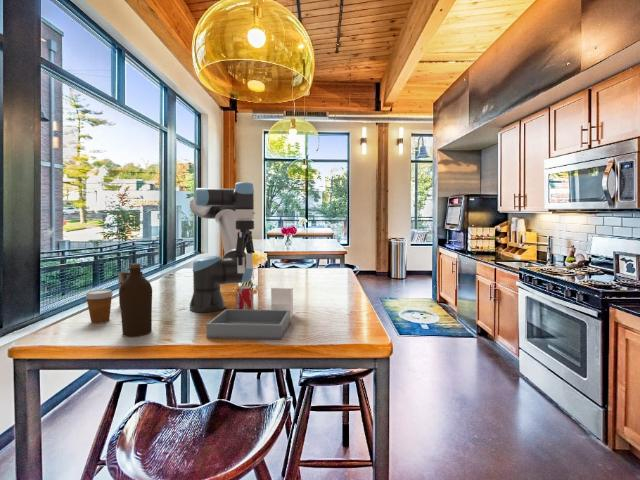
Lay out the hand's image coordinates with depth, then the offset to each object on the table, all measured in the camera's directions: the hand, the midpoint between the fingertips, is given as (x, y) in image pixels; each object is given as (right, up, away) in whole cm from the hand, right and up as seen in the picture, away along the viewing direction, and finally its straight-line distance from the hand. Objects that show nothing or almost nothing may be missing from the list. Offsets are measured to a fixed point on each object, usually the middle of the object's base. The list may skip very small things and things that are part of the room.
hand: (245, 270), depth 156 cm
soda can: (-1, -19, +1) cm, 19 cm away
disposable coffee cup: (-56, -20, -8) cm, 60 cm away
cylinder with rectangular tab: (+15, -19, 0) cm, 25 cm away
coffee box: (-57, -18, +17) cm, 62 cm away
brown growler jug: (-34, -21, -22) cm, 46 cm away
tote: (+6, -20, -19) cm, 28 cm away
